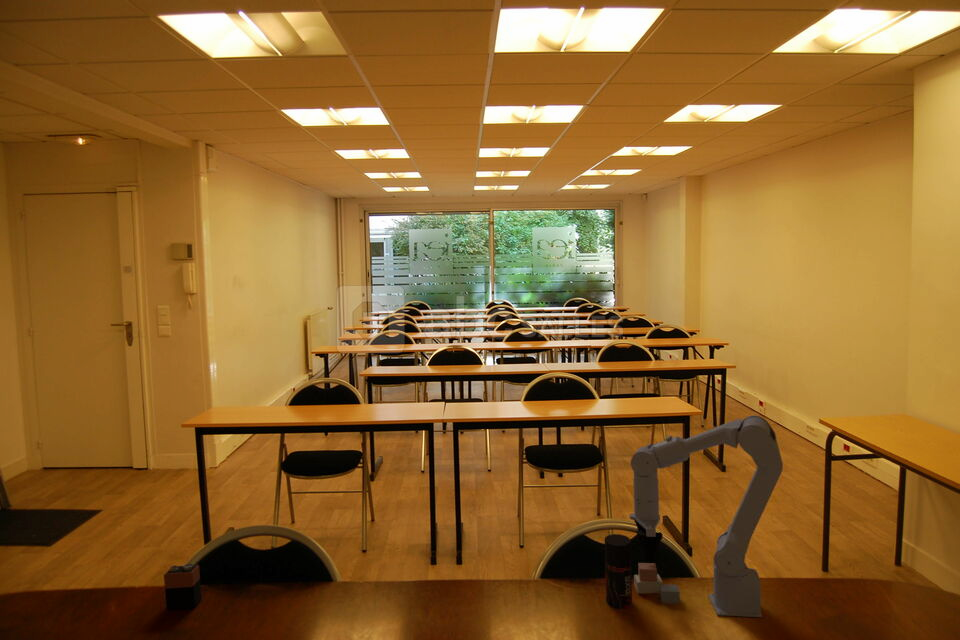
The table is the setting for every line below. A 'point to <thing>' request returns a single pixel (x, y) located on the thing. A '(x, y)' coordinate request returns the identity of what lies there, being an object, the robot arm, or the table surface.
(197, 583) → the battery
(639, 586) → the cream brick
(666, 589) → the slate brick
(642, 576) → the terracotta brick
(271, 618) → the table surface
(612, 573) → the deodorant
